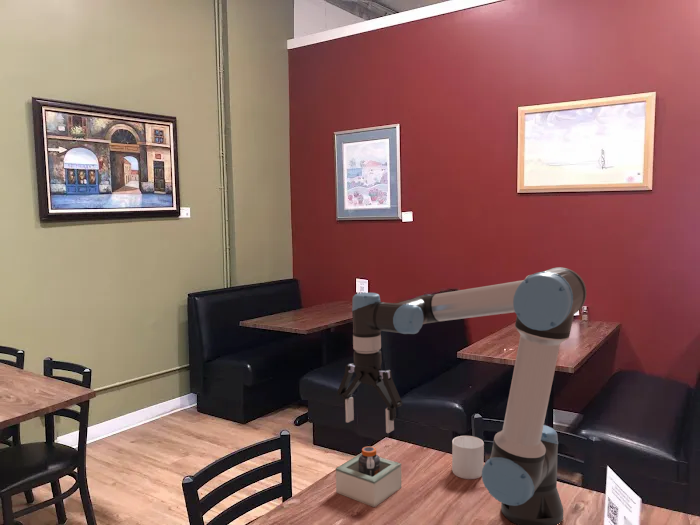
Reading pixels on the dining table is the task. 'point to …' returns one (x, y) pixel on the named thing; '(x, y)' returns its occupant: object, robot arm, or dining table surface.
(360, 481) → the box
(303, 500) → the dining table surface
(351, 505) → the dining table surface
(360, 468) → the pill bottle
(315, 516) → the dining table surface
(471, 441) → the mug
